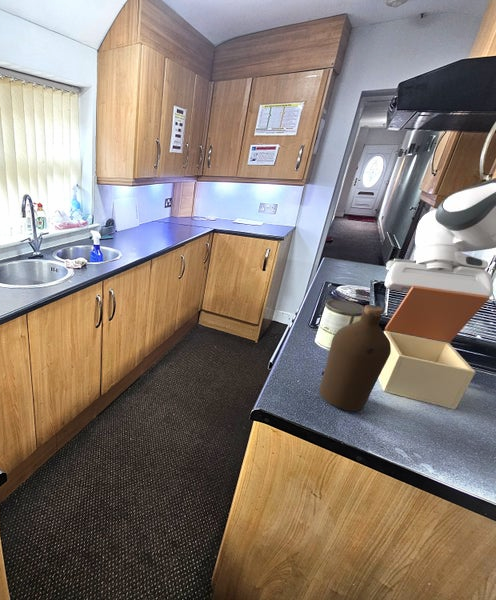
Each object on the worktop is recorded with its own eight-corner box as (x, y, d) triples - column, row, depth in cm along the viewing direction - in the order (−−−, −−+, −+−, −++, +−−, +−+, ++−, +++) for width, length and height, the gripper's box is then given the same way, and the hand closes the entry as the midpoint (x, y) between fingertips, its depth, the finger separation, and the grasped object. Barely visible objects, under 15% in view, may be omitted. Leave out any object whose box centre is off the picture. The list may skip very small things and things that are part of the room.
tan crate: (455, 409, 78) (475, 372, 74) (383, 391, 84) (399, 355, 80) (432, 376, 91) (449, 342, 87) (371, 362, 97) (384, 330, 93)
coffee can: (317, 333, 113) (329, 296, 107) (354, 344, 106) (368, 305, 101) (311, 345, 106) (322, 306, 100) (349, 357, 100) (364, 316, 94)
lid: (489, 298, 75) (488, 295, 76) (413, 287, 81) (412, 285, 82) (450, 342, 87) (449, 339, 87) (385, 330, 93) (385, 327, 93)
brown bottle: (379, 410, 77) (420, 316, 67) (340, 416, 76) (376, 320, 66) (341, 382, 87) (372, 296, 77) (306, 387, 85) (333, 299, 75)
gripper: (392, 251, 90) (387, 295, 86) (497, 262, 81) (498, 312, 77) (382, 263, 95) (378, 305, 91) (480, 275, 86) (480, 322, 82)
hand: (434, 308), depth 84 cm, fingers closed
